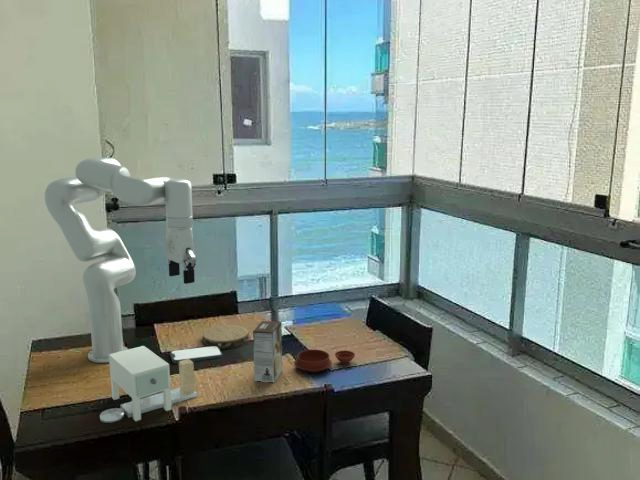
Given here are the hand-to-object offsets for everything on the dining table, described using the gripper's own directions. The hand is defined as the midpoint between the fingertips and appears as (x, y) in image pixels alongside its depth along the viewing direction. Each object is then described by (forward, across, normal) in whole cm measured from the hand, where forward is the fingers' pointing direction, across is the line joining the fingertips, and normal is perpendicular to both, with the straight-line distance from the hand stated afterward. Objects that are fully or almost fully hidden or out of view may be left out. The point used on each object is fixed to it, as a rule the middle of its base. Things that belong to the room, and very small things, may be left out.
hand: (181, 279), depth 174 cm
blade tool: (+30, +13, -14) cm, 36 cm away
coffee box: (+30, +18, +19) cm, 39 cm away
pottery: (+30, +23, +37) cm, 53 cm away
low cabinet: (+30, +11, -18) cm, 37 cm away
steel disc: (+30, +13, -27) cm, 43 cm away
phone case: (+31, -10, +9) cm, 33 cm away
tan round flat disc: (+30, -16, +23) cm, 42 cm away
